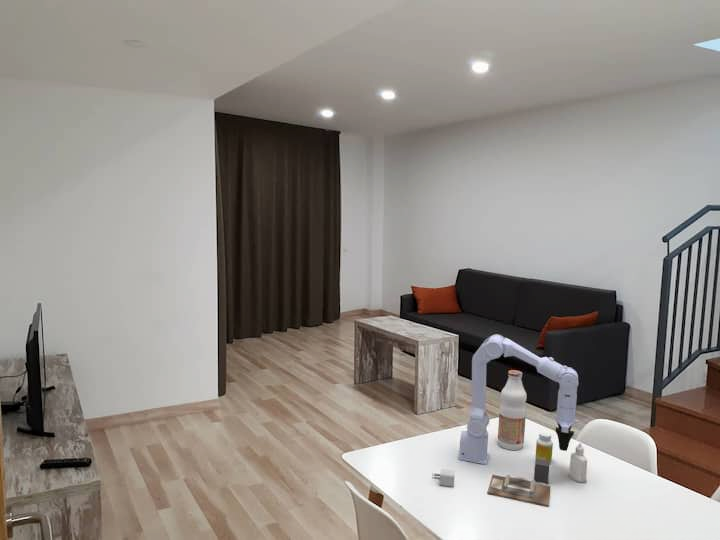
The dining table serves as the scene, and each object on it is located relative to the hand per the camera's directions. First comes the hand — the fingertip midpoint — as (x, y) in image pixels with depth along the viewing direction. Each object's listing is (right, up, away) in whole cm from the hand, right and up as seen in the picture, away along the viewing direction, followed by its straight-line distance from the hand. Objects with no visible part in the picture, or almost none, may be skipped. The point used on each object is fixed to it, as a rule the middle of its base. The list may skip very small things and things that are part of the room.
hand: (563, 445), depth 182 cm
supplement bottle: (-3, -9, +11) cm, 14 cm away
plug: (-8, -10, -3) cm, 14 cm away
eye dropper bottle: (+4, -11, -1) cm, 11 cm away
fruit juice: (-11, -7, +23) cm, 26 cm away
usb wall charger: (-41, -10, -7) cm, 43 cm away
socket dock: (-18, -11, -10) cm, 23 cm away
